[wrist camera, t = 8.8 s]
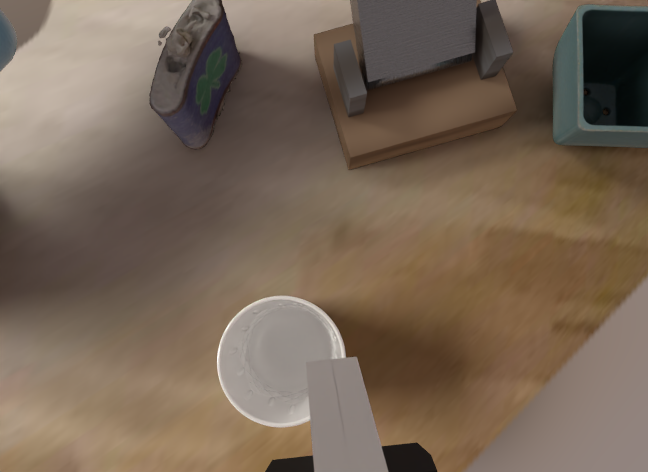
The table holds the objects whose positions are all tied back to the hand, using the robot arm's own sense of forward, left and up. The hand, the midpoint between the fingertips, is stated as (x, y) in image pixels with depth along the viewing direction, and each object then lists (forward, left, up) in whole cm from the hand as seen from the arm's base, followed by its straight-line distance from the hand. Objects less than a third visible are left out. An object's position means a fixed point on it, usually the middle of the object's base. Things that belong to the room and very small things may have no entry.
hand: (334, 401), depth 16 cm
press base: (+3, +21, -27) cm, 35 cm away
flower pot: (+18, +21, -28) cm, 39 cm away
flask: (-13, +18, -28) cm, 35 cm away
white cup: (-3, -1, -28) cm, 28 cm away
